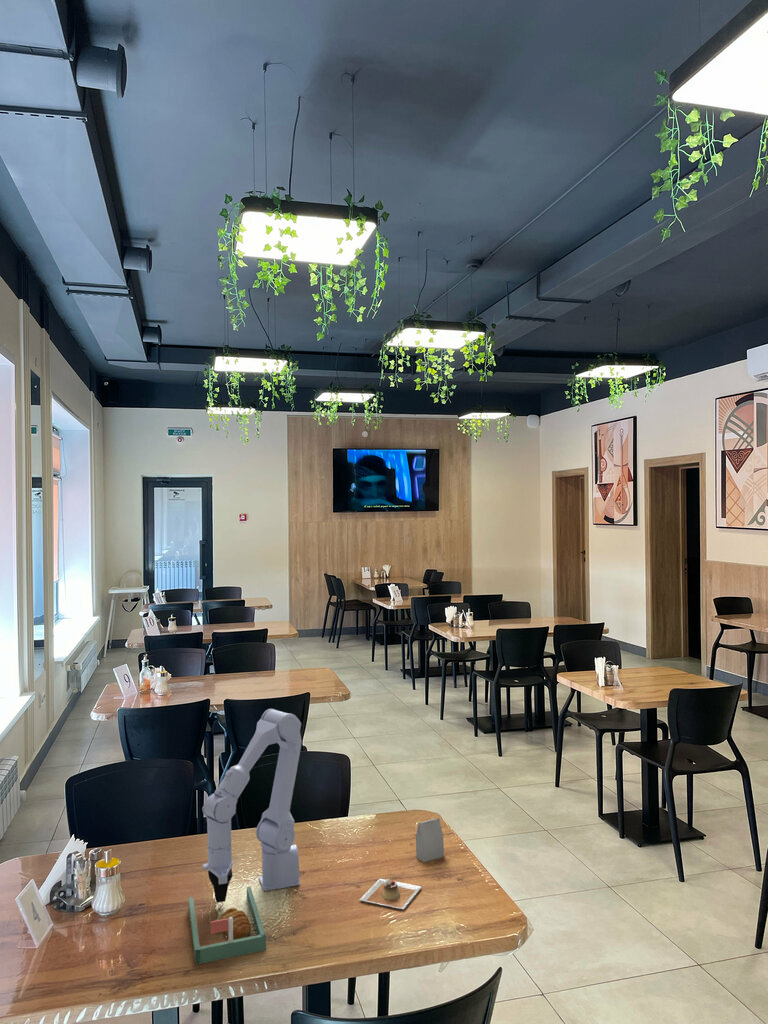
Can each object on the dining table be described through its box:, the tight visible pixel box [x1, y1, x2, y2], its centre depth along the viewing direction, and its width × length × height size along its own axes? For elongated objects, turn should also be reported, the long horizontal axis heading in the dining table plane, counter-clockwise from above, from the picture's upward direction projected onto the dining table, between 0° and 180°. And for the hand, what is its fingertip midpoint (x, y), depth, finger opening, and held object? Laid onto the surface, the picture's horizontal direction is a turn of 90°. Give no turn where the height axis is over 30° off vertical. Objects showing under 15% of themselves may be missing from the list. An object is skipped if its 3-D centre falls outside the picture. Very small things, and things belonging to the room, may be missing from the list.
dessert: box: [359, 877, 423, 911], centre depth 179 cm, size 12×12×5 cm
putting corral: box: [188, 886, 267, 965], centre depth 166 cm, size 15×24×8 cm, turn 18°
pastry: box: [217, 907, 252, 940], centre depth 164 cm, size 9×7×4 cm
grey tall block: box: [415, 817, 445, 863], centre depth 200 cm, size 4×7×10 cm, turn 119°
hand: (220, 900), depth 176 cm, fingers closed
